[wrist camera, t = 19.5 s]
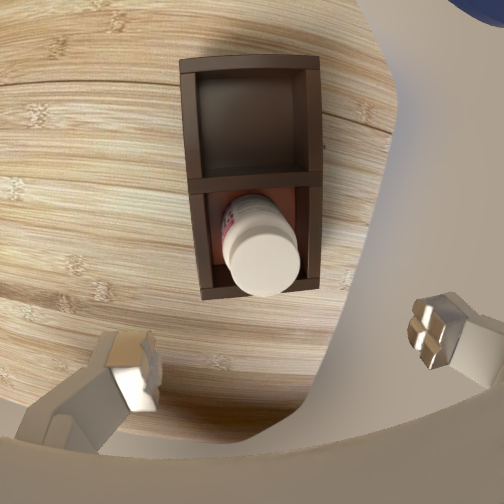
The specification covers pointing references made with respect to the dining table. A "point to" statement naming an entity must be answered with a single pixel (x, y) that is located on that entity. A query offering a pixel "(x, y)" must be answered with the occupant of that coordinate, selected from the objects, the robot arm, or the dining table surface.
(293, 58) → the holder
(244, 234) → the pill bottle
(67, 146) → the dining table surface
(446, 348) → the robot arm
